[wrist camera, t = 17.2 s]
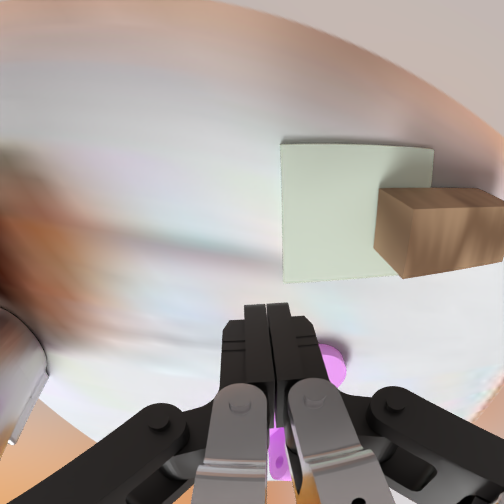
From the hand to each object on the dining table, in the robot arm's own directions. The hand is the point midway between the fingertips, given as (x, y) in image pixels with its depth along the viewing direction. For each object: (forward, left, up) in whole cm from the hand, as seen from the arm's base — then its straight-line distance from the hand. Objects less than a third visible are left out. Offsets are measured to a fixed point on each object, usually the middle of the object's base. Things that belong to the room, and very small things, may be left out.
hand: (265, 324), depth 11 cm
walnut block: (0, -8, -7) cm, 10 cm away
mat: (0, -7, -10) cm, 12 cm away
